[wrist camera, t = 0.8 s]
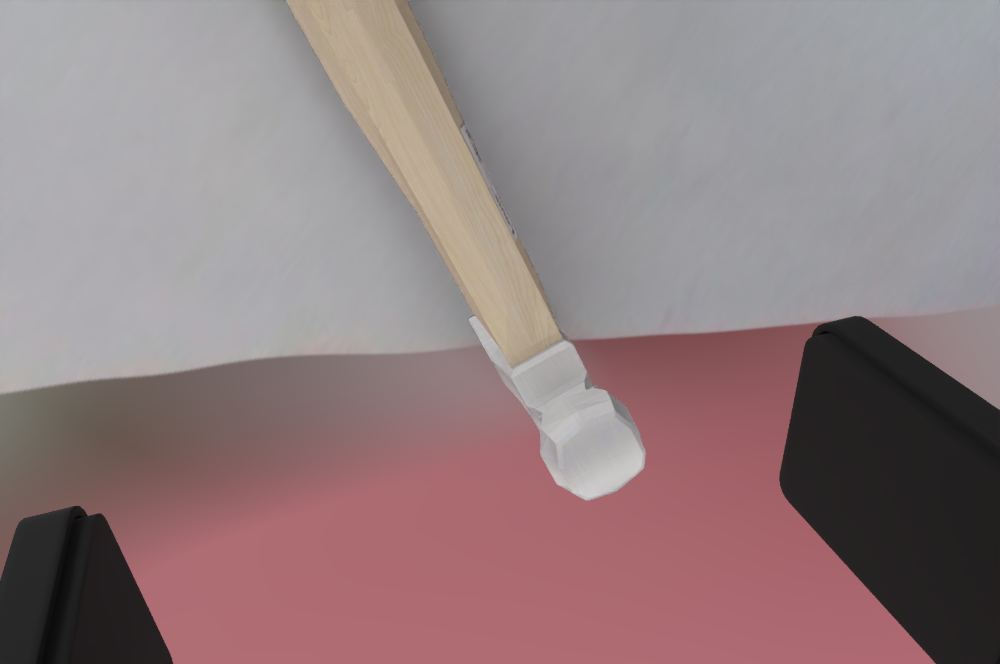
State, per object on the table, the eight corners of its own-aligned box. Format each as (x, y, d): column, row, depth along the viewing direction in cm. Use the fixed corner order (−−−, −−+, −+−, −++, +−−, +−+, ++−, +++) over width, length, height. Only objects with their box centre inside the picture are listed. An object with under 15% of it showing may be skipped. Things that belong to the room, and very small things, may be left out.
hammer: (180, -184, 23) (576, 520, 34) (313, -255, 23) (665, 469, 34) (240, -80, 38) (504, 390, 49) (322, -124, 38) (567, 354, 49)
